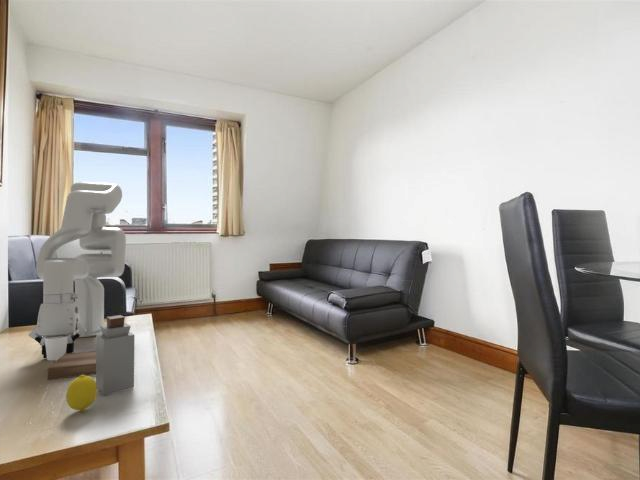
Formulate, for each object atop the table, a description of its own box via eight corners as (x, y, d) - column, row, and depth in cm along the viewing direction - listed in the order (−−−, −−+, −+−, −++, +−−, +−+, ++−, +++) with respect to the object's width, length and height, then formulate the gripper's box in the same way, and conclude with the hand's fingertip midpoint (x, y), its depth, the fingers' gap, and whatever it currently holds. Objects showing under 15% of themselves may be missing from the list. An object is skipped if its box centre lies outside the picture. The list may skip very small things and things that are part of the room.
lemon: (76, 405, 75) (76, 370, 75) (102, 404, 76) (102, 369, 76) (59, 418, 70) (60, 380, 70) (87, 417, 70) (87, 379, 70)
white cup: (56, 362, 101) (56, 339, 101) (38, 360, 103) (38, 337, 103) (77, 354, 108) (77, 333, 108) (59, 352, 109) (59, 331, 109)
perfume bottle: (95, 387, 84) (96, 317, 84) (125, 379, 89) (125, 312, 89) (103, 396, 80) (104, 321, 80) (133, 387, 85) (134, 317, 85)
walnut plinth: (64, 363, 100) (64, 353, 100) (110, 359, 104) (110, 349, 104) (47, 379, 89) (47, 368, 89) (99, 373, 93) (99, 363, 93)
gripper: (93, 295, 112) (93, 349, 112) (31, 298, 106) (30, 354, 106) (86, 299, 105) (86, 356, 105) (18, 302, 99) (18, 363, 99)
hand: (58, 355), depth 105 cm, fingers closed on white cup, 5 cm apart
